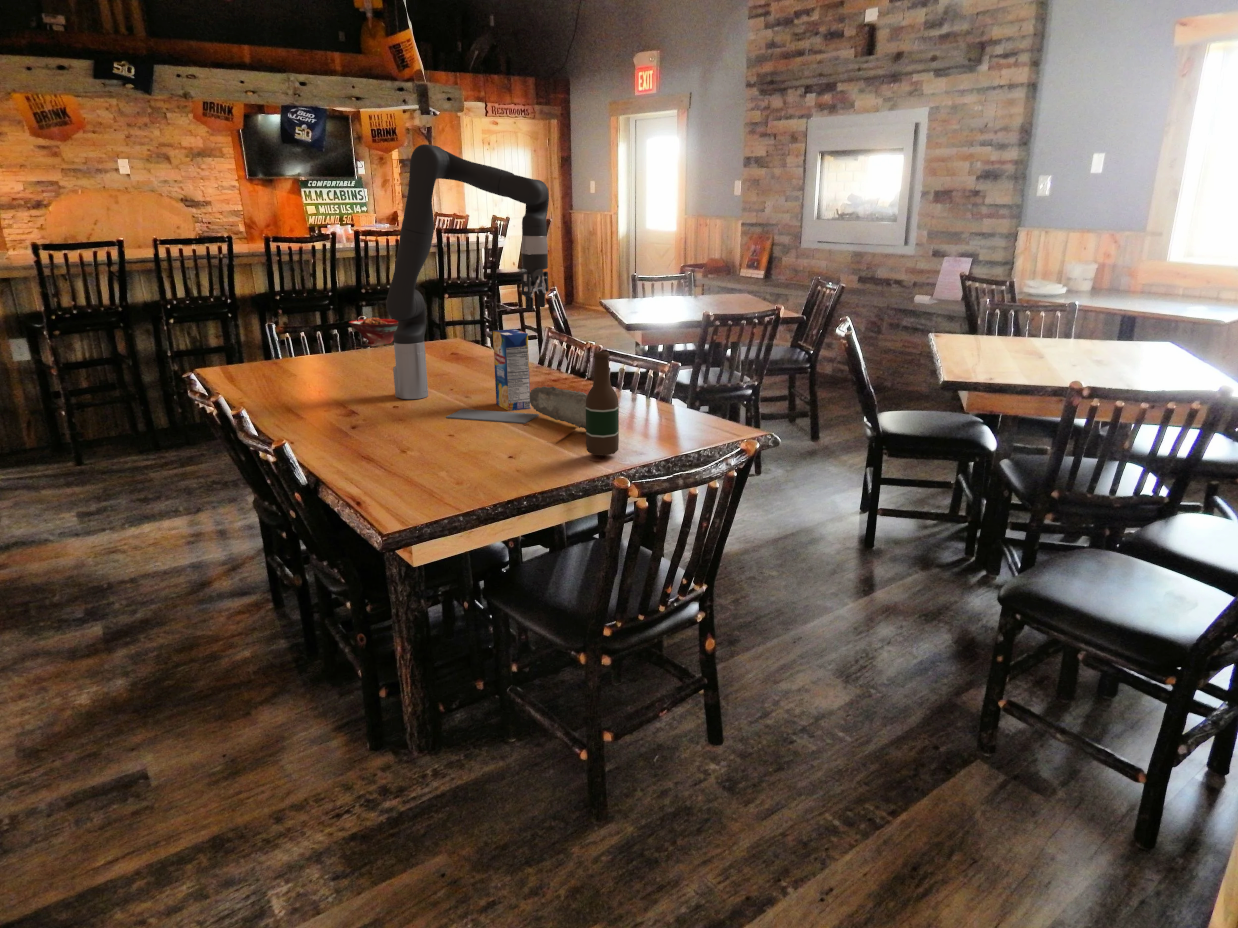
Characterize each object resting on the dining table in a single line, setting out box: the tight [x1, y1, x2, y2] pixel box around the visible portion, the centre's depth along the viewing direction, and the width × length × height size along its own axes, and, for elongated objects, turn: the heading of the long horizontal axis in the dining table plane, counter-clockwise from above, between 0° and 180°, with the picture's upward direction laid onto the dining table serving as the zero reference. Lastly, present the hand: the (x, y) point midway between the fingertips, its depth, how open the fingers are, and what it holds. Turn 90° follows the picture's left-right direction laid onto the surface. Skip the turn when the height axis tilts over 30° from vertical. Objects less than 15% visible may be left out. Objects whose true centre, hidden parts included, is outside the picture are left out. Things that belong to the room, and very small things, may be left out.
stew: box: [348, 317, 398, 349], centre depth 349 cm, size 28×24×16 cm
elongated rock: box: [529, 385, 588, 431], centre depth 221 cm, size 35×5×10 cm, turn 42°
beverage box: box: [492, 328, 531, 412], centre depth 242 cm, size 7×11×22 cm, turn 27°
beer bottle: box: [585, 350, 620, 456], centre depth 194 cm, size 8×8×24 cm
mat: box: [445, 408, 540, 425], centre depth 232 cm, size 24×10×1 cm, turn 73°
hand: (535, 308), depth 243 cm, fingers open, 8 cm apart
